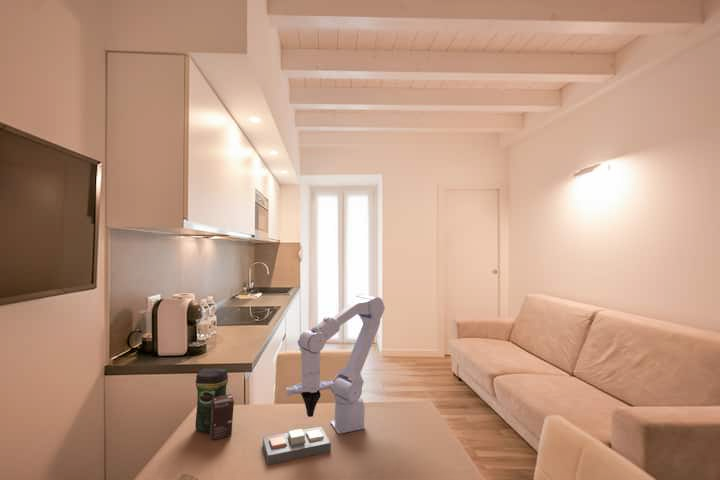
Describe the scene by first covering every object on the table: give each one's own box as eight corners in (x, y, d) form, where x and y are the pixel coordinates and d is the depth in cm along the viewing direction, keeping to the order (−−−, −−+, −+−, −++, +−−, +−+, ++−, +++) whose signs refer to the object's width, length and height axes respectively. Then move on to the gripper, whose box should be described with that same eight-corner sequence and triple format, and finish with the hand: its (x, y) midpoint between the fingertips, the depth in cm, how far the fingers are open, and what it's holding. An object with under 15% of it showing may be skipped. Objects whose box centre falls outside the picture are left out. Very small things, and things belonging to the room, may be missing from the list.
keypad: (321, 434, 117) (321, 426, 117) (330, 451, 108) (330, 442, 108) (262, 445, 110) (263, 437, 110) (267, 464, 101) (268, 455, 101)
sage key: (301, 438, 112) (301, 428, 112) (304, 445, 108) (304, 435, 108) (288, 441, 110) (288, 431, 110) (291, 448, 106) (291, 437, 106)
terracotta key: (283, 446, 110) (283, 436, 110) (285, 453, 106) (286, 443, 106) (269, 448, 108) (269, 438, 108) (271, 456, 104) (271, 445, 104)
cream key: (319, 439, 114) (319, 429, 114) (322, 445, 110) (323, 435, 110) (306, 441, 112) (306, 431, 112) (309, 448, 109) (309, 438, 109)
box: (211, 441, 112) (213, 404, 111) (209, 432, 116) (211, 396, 115) (232, 436, 115) (234, 400, 114) (229, 428, 119) (231, 392, 118)
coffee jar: (231, 422, 123) (232, 365, 124) (220, 433, 115) (220, 372, 117) (204, 421, 124) (204, 365, 125) (191, 432, 116) (191, 372, 118)
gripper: (290, 378, 106) (289, 425, 106) (337, 372, 112) (336, 416, 112) (284, 370, 113) (284, 415, 113) (329, 364, 119) (329, 407, 119)
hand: (309, 415), depth 113 cm, fingers closed
